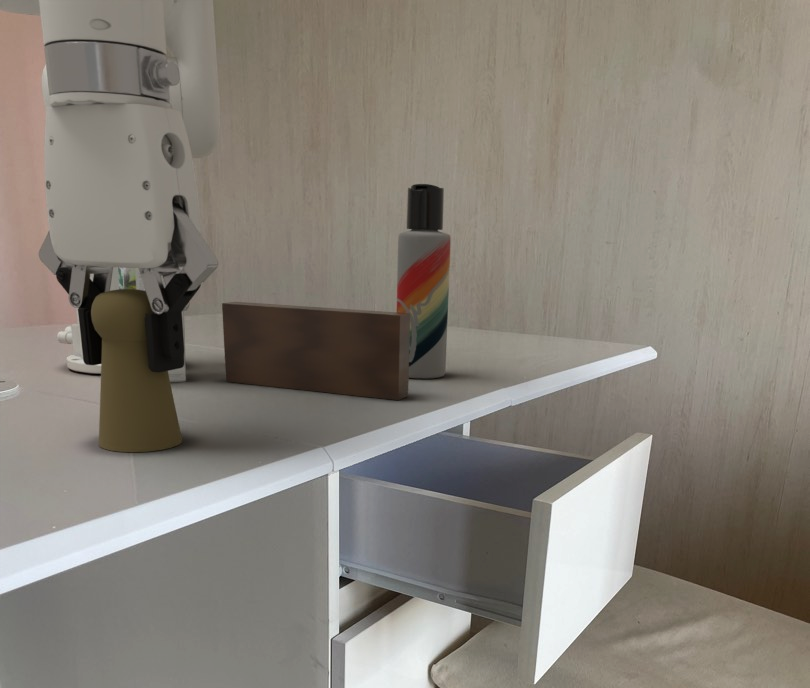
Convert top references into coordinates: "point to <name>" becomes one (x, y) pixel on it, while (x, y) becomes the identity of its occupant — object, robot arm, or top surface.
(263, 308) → the brown wooden block
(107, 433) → the cork
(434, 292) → the lotion bottle
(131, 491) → the top surface
